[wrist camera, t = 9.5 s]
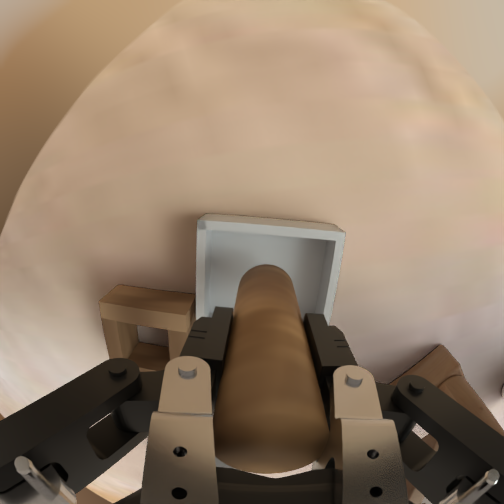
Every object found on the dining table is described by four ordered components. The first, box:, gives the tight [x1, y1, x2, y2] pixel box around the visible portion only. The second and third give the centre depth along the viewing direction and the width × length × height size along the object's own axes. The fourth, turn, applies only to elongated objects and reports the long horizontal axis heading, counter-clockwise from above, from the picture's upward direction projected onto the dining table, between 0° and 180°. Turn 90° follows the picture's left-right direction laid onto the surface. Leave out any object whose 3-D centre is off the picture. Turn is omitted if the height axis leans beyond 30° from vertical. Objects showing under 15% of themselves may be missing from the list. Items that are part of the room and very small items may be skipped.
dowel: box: [213, 264, 330, 474], centre depth 10 cm, size 3×3×10 cm
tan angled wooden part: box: [389, 345, 504, 504], centre depth 12 cm, size 4×11×18 cm, turn 131°
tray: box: [196, 213, 346, 326], centre depth 17 cm, size 8×7×2 cm
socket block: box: [99, 285, 196, 372], centre depth 18 cm, size 6×6×3 cm
